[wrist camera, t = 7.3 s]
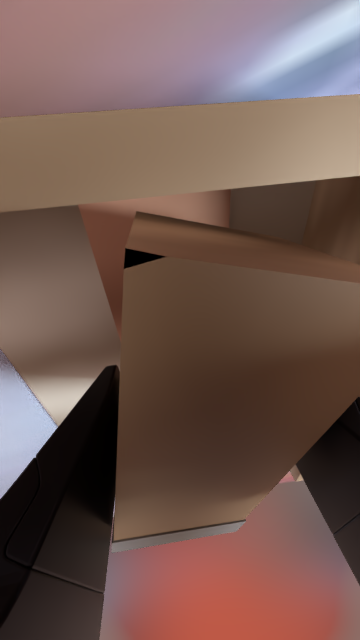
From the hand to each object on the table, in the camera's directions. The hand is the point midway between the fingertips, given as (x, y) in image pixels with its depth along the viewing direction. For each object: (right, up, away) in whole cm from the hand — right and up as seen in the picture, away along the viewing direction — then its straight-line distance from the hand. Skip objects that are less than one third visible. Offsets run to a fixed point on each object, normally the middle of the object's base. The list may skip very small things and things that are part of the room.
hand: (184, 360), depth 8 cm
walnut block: (0, 0, +1) cm, 1 cm away
